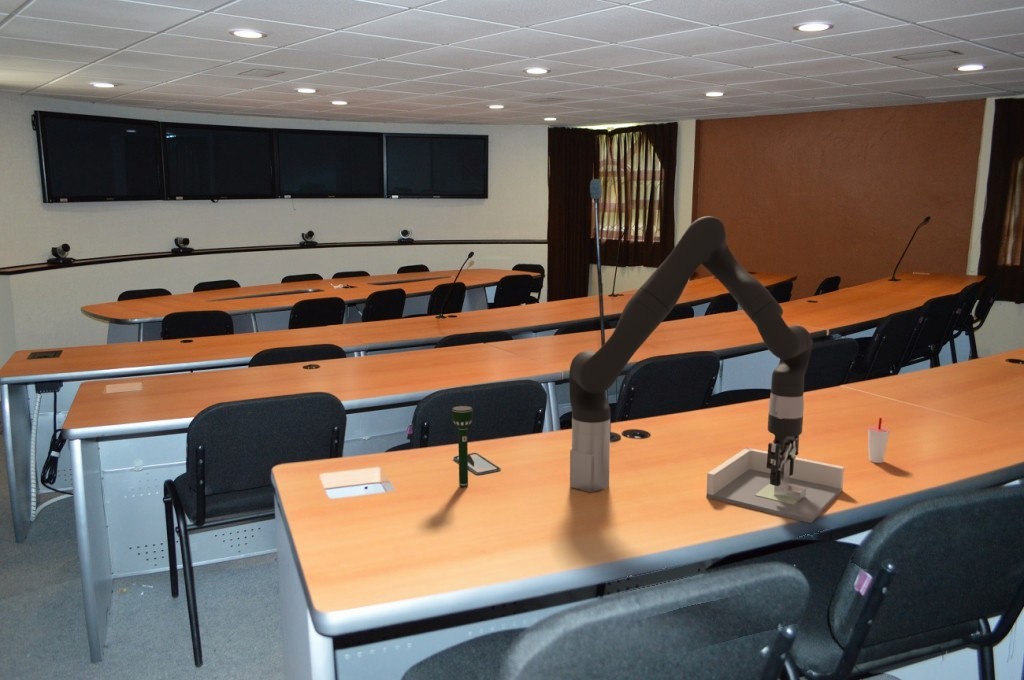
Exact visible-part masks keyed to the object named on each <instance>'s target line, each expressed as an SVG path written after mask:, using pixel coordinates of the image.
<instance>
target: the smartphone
mask: <svg viewBox="0 0 1024 680" xmlns="http://www.w3.org/2000/svg"><path fill="white" fill-rule="evenodd" d="M453 460H455V462H456V463H457V462H458V464H459V455H455V456H453ZM501 470H502V468H501V467H499V466H498V465H496V464H495V463H493V462H492V461H490V460H488V459H487V458H486V457H484V456H483V455H480V454H479V452H471V453H468V471H470V472H471V473H473V474H474V475H476V476H483V475H484V476H485V475H487V474H493V473H498V472H501Z"/></svg>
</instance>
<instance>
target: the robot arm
mask: <svg viewBox="0 0 1024 680" xmlns="http://www.w3.org/2000/svg"><path fill="white" fill-rule="evenodd" d="M726 231H727V230H726V227H725V226H724V223H723V222H722V220H721V219H719V218H718V217H716V216H712V215H711V216H710V215H705V216H702V217H699V218H697V219H696V220H694V221H692V222H691V223H690V225H689V226H688V227H687V229H686V230H685V232H684V234H683V235H682V236H681V238H680V239H679V241H678V242H677V244H676V245H675V246H674V248H673V249H672V251H671V253H670V254H668V255H667V257H666V258H665V259H664V260H663V262H662V263H661V264H660V265H659V266H658V267H657V268H656V269H655V271H653V273H652V274H650V276H649V277H648V279H647V280H645V282H644V283H643V284H642V285H641V286H640V287H639V288H638V289H637V291H636V292H635V293H634V294H633V295H632V297H630V299H629V300H628V302H627V303H626V305H624V308H623V310H622V312H621V314H620V317H619V320H618V322H617V325H616V326H615V328H614V330H613V332H612V334H611V335H610V337H609V338H608V339H607V340H606V342H605V343H604V344H603V345H602V346H601V347H600V348H599V349H598V350H597V351H593V350H584V351H581V352H579V353H577V354H576V355H575V356H574V357H573V358H572V360H571V362H570V365H569V373H568V374H569V375H568V376H569V377H568V383H569V385H568V387H569V404H570V408H571V413H572V414H571V449H570V451H569V487H570V488H571V489H572V488H573V489H576V490H580V491H583V492H588V493H592V492H599V491H604V490H606V489H608V488H609V486H610V457H611V455H610V451H611V449H610V448H611V445H610V442H611V407H610V404H609V402H608V399H607V394H606V391H607V390H608V389H610V388H611V387H612V386H613V384H615V382H616V381H617V379H619V376H620V374H622V371H624V368H626V366H627V365H628V363H629V362H630V360H631V359H632V357H633V356H634V355H635V353H636V352H638V351H637V350H638V349H640V347H641V346H642V345H643V344H644V343H645V342H646V340H648V338H649V337H650V336H651V334H652V333H653V332H654V331H655V330H656V329H657V328H658V327H659V326H660V324H662V322H663V321H664V320H665V319H666V318H667V316H668V315H669V314H670V313H671V312H672V310H673V308H674V307H675V305H676V304H677V302H678V301H679V299H680V298H681V296H682V294H683V292H684V290H685V288H686V287H687V284H688V283H689V280H690V279H691V277H692V275H693V274H695V272H696V271H697V269H698V268H699V267H700V266H702V267H704V268H705V269H706V270H707V271H708V272H709V273H711V275H713V276H714V277H715V279H717V280H718V281H719V283H721V285H722V286H723V287H725V289H726V290H727V291H728V292H729V294H730V295H731V296H732V297H733V299H734V300H735V301H736V303H737V304H738V305H739V307H740V308H741V309H742V310H743V312H744V313H745V314H746V316H748V319H750V320H751V321H752V322H753V324H754V325H755V326H756V328H757V330H758V333H759V336H761V338H762V341H763V343H764V345H765V346H766V348H767V349H768V351H769V352H770V353H771V354H772V355H773V356H775V357H776V358H778V359H779V363H778V365H777V366H776V368H774V369H773V371H772V374H771V384H770V395H769V396H770V397H769V402H768V415H767V416H768V418H767V431H768V432H769V433H770V434H773V436H774V439H773V441H772V442H768V445H767V452H768V455H767V468H769V469H771V473H770V484H771V485H775V486H779V485H780V484H781V469H782V465H783V463H784V462H786V459H789V460H790V472H789V476H791V475H793V468H794V460H795V458H796V457H797V456H798V455H799V445H800V442H799V441H800V435H801V434H802V433H803V425H804V409H805V408H804V407H805V401H804V393H805V392H804V391H805V375H806V371H807V369H808V366H809V361H810V357H811V354H812V347H813V345H812V343H813V342H812V337H811V334H810V332H809V331H808V330H807V329H806V328H805V327H804V326H801V325H790V326H788V325H787V323H786V322H785V320H784V319H783V317H782V316H783V315H784V313H783V312H784V309H783V308H782V306H781V304H780V303H779V302H778V300H777V299H775V297H774V296H773V295H772V293H771V292H770V291H769V290H768V289H767V288H766V286H764V285H763V284H762V282H760V281H759V280H758V279H757V278H756V277H754V276H753V275H752V274H751V273H749V272H748V271H747V270H746V269H744V267H743V266H742V265H741V263H739V261H738V260H737V259H736V258H735V256H734V255H733V253H732V251H731V249H730V248H729V246H728V244H727V232H726ZM780 456H781V457H780ZM775 461H776V464H774V462H775Z"/></svg>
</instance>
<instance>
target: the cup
mask: <svg viewBox="0 0 1024 680" xmlns="http://www.w3.org/2000/svg"><path fill="white" fill-rule="evenodd" d="M882 420H883V418H882V417H879V419H878V425H871V426H868V427H867V433H868V434H867V435H868V437H867V439H868V459H869V460H868V461H870V462H872V463H877V464H881V463H883V462H884V460H885V459H884V458H885V454H886V449H887V445H888V439H889V434H890V432H891V430H890V429H889V428H887V427H885V426H882V422H883V421H882Z"/></svg>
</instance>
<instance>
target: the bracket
mask: <svg viewBox="0 0 1024 680" xmlns="http://www.w3.org/2000/svg"><path fill="white" fill-rule="evenodd" d="M789 472H790V460H789V459H786V462H784V463H783V465H782V469H781V484H780V485H779V486H775V485H774V495H775V496H779V497H784V498H788V499H792V500H796V501H801V500H802V499H803V498H804V497H805V496H806V488H804V487H800V486H795V485H791V484H789Z"/></svg>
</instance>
